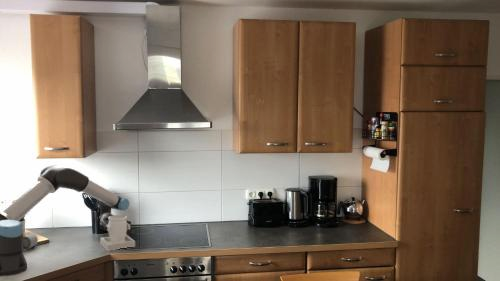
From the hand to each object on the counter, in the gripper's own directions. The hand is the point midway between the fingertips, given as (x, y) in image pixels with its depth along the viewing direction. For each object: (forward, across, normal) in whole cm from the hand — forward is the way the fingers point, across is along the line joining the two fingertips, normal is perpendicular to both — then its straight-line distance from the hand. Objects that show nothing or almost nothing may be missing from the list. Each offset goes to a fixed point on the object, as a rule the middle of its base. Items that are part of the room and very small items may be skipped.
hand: (119, 228), depth 248 cm
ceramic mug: (-23, +46, -11) cm, 52 cm away
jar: (-4, 0, -9) cm, 10 cm away
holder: (-4, 0, -11) cm, 12 cm away
